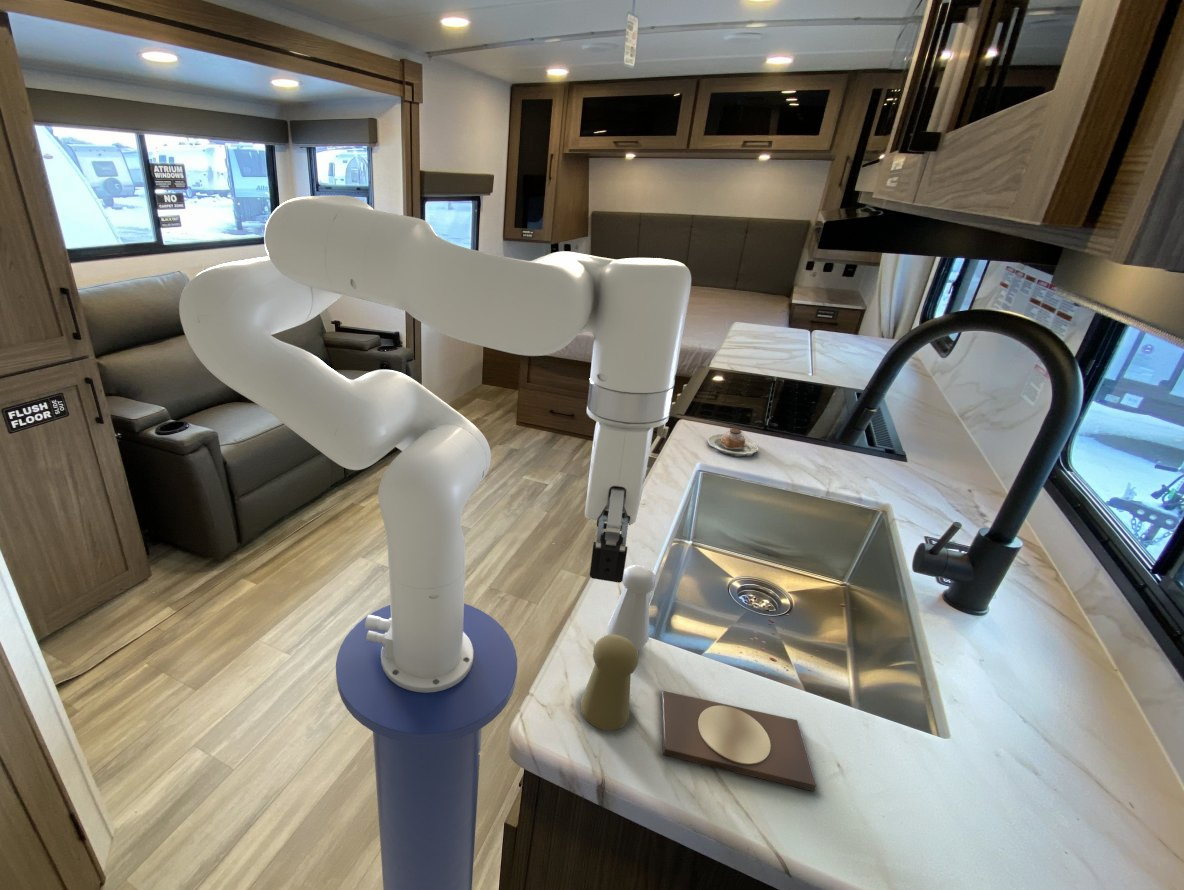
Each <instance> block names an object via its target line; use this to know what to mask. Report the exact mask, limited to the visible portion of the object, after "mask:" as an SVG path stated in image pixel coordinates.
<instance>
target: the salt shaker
mask: <svg viewBox="0 0 1184 890" xmlns="http://www.w3.org/2000/svg"><path fill="white" fill-rule="evenodd" d="M656 580H657V578H656V574H655V573H654V572H653V570H652V569H650V568H649V567H648V566H644V565H641V564H632V565H629V566H627V567H626V568H624V575H623V580H622V582H621V583H622V586H624V587H623V588H622V591H621V593H620V595H619V598H618V599H617V602H616V605H615V607H614V609H613V612H612V614H611V616H610V619H609V621H608V623H607V629H606V632H607V633H606V634H607V635H619V636H622V637H625V638H627V639H628V640H629V641H631V642H632V643H633V645H634V646H635V647H636V649H637V652H638V653H639V651H640V650H642V648H644V646H645V645H646V644H647V643H648V642H649V640H650V593H651V592H652V591H653V590H654V589H655V586H656Z"/></svg>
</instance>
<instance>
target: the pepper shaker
mask: <svg viewBox="0 0 1184 890" xmlns="http://www.w3.org/2000/svg"><path fill="white" fill-rule="evenodd" d="M592 659H593V661H594V666H593V669H592V671H591V673H590V677H589V679H588V682H587V684H586V687H585V690H584V692H583V695H582V697H581V700H580V706H579V707H580V713H581V715H582V716H583V718H584V719H585V720H586V721H587V722H588V723H589V724H590V725H591V726H593V727H595V728H596V729H600V730H603V731H617V730H620V729H623V727H625V726H626V725H627V723H628V721H629V720H630V719H629V718H630V701H631V700H630V699H631V697H630V695H631V676H632V675H631V674H633V673H634V672H635V670H636V668H637V667H638V664H639V651H638V652H637V649H636V647H635V646H634V645H633V643H632V642H631V641H629V640H628V639H627V638H625V637H622V636H619V635H608V634H607V635H604V636H602V637H600V638H599V639H598V640H597V641H596V643H595V644H594V647H593V652H592Z"/></svg>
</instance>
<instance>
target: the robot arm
mask: <svg viewBox="0 0 1184 890" xmlns="http://www.w3.org/2000/svg"><path fill="white" fill-rule="evenodd" d="M263 237H264V238H263V241H264V247H265V251H266V254H267V256H263V257H256V258H249V259H244V260H237V261H231V262H227V263H226V262H225V263H222V264H218V265H215V266H212V267H209V268H207V269H204V270H202V271H201V272H199V273H197V274H196V275H195V276H193V277H192V278H191V279H190V280H189V281H188V282H187V283H186V284H185V286H184V287H183V290H182V291H181V294H180V297H179V302H178V303H179V304H178V309H179V314H178V315H179V319H180V323H181V326H182V330H183V333H184V335H185V338H186V340H187V342H188V344H189V346H190V348H191V350H192V351H193V353H194V354H195V356H196V357H197V359H198V360H199V361H200V363H201V364H202V365H203V366H204V367H205V368H206V370H207V371H209V372H210V373H211V374H212V375H213V376H214V377H215V378H217V380H219V381H220V382H222V383H223V384H225V385H226V386H227V387H229V388H230V389H231V390H233V391H235V392H236V393H238V394H240V395H241V396H243V397H245V398H247V399H248V400H250V401H252V402H253V403H255V404H256V405H258V406H259V407H260V408H262V409H264V410H265V411H267V412H269V413H270V414H271V415H273V416H274V417H275V418H276V419H277V420H279V422H281V423H282V424H283V425H285V426H286V427H287V428H289V430H291V431H292V432H294V433H295V434H297V435H298V436H299V437H301V438H302V439H303V440H305V442H307V443H309V444H310V445H311V446H313V447H314V448H315V449H317V450H318V451H319V452H320V453H322V454H323V455H324V456H326V457H327V458H328V459H329V460H331V461H332V462H334V463H336V465H339V466H341V467H342V468H345V469H347V470H351V471H352V470H353V471H360V470H364V469H366V468H368V467H370V466H372V465H374V464H376V463H377V462H378V461H379V460H381V459H382V458H384V457H385V456H386V455H387V454H388V453H390V452H391V451H392V450H393V449H395V448H397V449H398V450H399V451H401V452H400V453H399V454H397V456H396V457H395V458H394V459H393V460H392V461H391V462H390V463H389V465H388V466H387V468H386V469H385V470H384V472H383V474H382V475H381V476H382V477H381V479H380V482H379V485H378V490H377V491H378V492H377V498H378V499H377V500H378V505H379V506H378V507H379V510H380V514H381V517H382V521H383V525H384V529H385V535H386V545H387V560H388V561H387V564H388V565H387V566H388V578H389V579H388V580H389V581H388V583H389V605H390V608H391V618H389V620H387V619H383V618H381V617H377V616H373V615H370V614H368V615H366V616H367V618H366V622H365V628H366V629H371V630H375V631H378V630H379V631H384V632H386V633H385V634H380V633H378V632H374V631H368V633H367V636H366V640H367V641H371V642H378V643H382V649H381V664H382V667H383V670H384V672H385V674H386V675H387V677H388V678H389V679H390V680H391V681H392V682H394V683H395V684H397V685H398V686H400V687H402V688H404V689H407V690H410V691H415V692H424V693H428V692H437V691H442V690H445V689H448V688H450V687H452V686H454V685H456V684H457V683H459V682H460V681H461V680H462V679H464V678H465V677H466V675H467V674H468V673H469V671H470V669H471V667H472V664H473V646H472V643H471V641H470V639H469V638H468V637H467V635H466V634H465V633H464V632H463V617H464V604H465V589H466V588H465V587H466V585H465V584H466V582H465V581H466V540H465V534H464V532H463V531H464V530H463V527H462V515H463V510H464V508H465V506H466V504H467V502H468V501H469V499H470V498H471V497H472V496H473V494H474V492H475V491H476V489H477V488H478V486H480V485H481V483H482V482H483V480H484V479H485V477H486V476H487V474H488V472H489V470H490V467H491V462H492V452H491V448H490V445H489V442H488V440H487V438H486V437H485V435H484V434H483V433H482V431H481V430H480V429H479V428H478V427H477V426H476V425H475V424H474V423H473V422H471V421H470V419H468V418H466V417H465V416H464V415H463V414H461V413H460V412H458V410H456V409H455V408H454V407H452V406H450V405H449V404H448V403H447V402H445V401H444V400H443V399H441V398H440V397H439V396H437V395H436V394H434V393H433V392H432V391H430V390H429V389H428V388H426V387H425V386H424V385H422V383H420V382H418V381H417V380H415V379H414V378H412V377H411V376H408V375H407V374H405V373H402V372H400V371H397V370H392V369H376V370H373V371H370V372H367V373H365V374H363V375H361V376H359V377H358V378H355V379H350V378H347V377H346V376H344V375H343V374H341V373H339V372H337V371H336V370H334V369H333V368H331V367H330V366H329V365H327V364H326V363H325V362H324V361H323V360H321V359H320V358H319V357H318V356H316V355H314V354H313V353H311V352H309V351H307V350H305V349H303V348H301V347H299V346H296V345H294V344H291V343H288V342H285V341H281V340H280V339H278V338H276V337H274V336H272V335H275V334H277V333H281V332H284V331H287V330H291V329H293V328H295V327H298V326H301V325H303V324H305V323H307V322H309V321H311V320H312V319H314V318H316V317H317V316H318V315H320V314H321V313H323V312H324V311H325V310H326V309H328V308H329V307H330V306H331V305H332V304H334V303H335V302H336V301H338V300H339V299H340V298H342V297H343V296H346V297H351V298H354V299H358V300H362V301H367V302H370V303H374V304H377V305H383V306H387V307H391V308H395V309H398V310H401V311H404V312H406V313H408V314H409V315H410V316H411V317H412V318H413V319H415V320H416V321H419V322H420V323H422V324H424V325H425V326H427V327H429V328H430V329H432V330H434V331H436V332H438V333H439V334H443V335H444V336H446V337H449V338H453V339H455V340H459V341H462V342H465V343H469V344H472V345H476V346H480V347H484V348H489V349H493V350H496V351H501V352H505V353H509V354H514V355H519V356H526V357H540V356H547V355H551V354H554V353H557V352H559V351H561V350H563V349H564V348H565V347H567V346H568V345H569V344H571V342H572V341H574V340H575V339H576V337H578V335H581V334H583V333H586V332H589V333H591V334H592V336H593V345H592V356H591V365H590V366H591V367H590V376H589V377H590V378H589V387H588V394H587V405H586V415H587V416H588V417H589V418H590V419H592V420H593V421H595V422H596V423H595V426H594V431H593V432H594V433H593V438H592V439H593V440H592V447H591V455H590V464H589V472H588V473H589V474H588V481H587V482H588V483H587V484H588V485H587V490H586V491H587V492H586V500H585V508H584V517H585V518H586V519H587V520H588V521H591V520H593V521H594V520H595V521H596V527H597V531H596V532H597V533H596V540H595V541H593V543H592V553H591V558H590V559H591V561H590V569H589V577H590V578H591V579H593V580H599V581H606V582H612V583H618V584H620V583H622V580H623V575H624V570H625V569H626V568H625V567H626V561H627V554H628V546H626V545H627V537H628V528H629V526H631V525H633V524H635V523H636V520H637V516H638V514H639V513H638V512H639V507H640V503H641V500H642V495H643V489H644V485H645V480H646V475H647V470H648V464H649V458H650V453H651V447H652V439H653V434H654V429H655V428H658V427H661V426H664V425H665V424H666V423H668V421H669V418H670V413H671V406H672V401H673V394H674V389H675V382H676V377H677V371H678V366H679V365H678V364H679V359H680V353H681V347H682V341H683V336H684V330H685V324H686V317H687V314H688V313H687V312H688V307H689V300H690V296H691V295H690V294H691V290H692V289H691V287H692V274H691V271H690V269H689V267H688V266H686V264H684V263H682V262H680V261H677V260H673V259H665V258H657V257H656V258H655V257H654V258H653V257H629V258H620V259H614V258H607V257H601V256H596V255H590V254H587V253H586V254H584V253H580V252H574V251H556V252H552V253H548V254H547V255H544V256H539V257H538V258H535V259H533V260H524V259H519V258H513V257H508V256H503V255H500V254H499V255H498V254H495V253H494V254H493V253H489V252H484V251H480V250H475V249H472V248H469V247H464V246H461V245H458V244H455V243H452V242H450V241H448V240H445V239H443V238H442V237H441V236H439V235H438V234H437V233H436V232H435V230H434V229H433V226H432V225H431V223H429V222H428V221H426V220H424V219H421V218H418V217H415V216H408V215H403V214H398V213H392V212H387V211H381V210H377V209H374V208H373V207H372V206H370V205H369V204H368V203H367V202H366V201H364V200H362V199H360V198H357V197H354V196H350V195H309V196H298V197H295V198H291V199H289V200H287V201H285V202H283V203H281V204H280V205H279V206H277V207H276V208H275V209H274V210H273V211H272V213H271V214H270V216H269V218H268V220H267V221H266V223H265V229H264V235H263ZM604 530H605V531H604Z"/></svg>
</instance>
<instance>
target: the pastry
mask: <svg viewBox="0 0 1184 890" xmlns="http://www.w3.org/2000/svg"><path fill="white" fill-rule="evenodd" d="M707 443H708V444H709V447H711V448H713V449H716V450H717V451H718V452H720V453H721V454H724V455H728V456H731V457H735V458H736V457H750V456H753V454H755V453H757V452H758V451H759V445H758V444H757V443H756V442H755V441H753V440H751V439H749V438H746V437H745V436H744V435H743V433H742V430H740V429H738V428H730V429H729V431H727V432H725V433H718V434H714V435H712V434H711V435H710V436H709V437H708V438H707Z"/></svg>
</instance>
